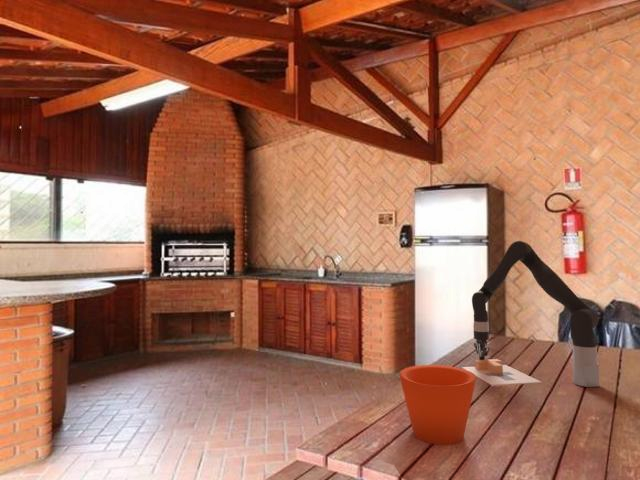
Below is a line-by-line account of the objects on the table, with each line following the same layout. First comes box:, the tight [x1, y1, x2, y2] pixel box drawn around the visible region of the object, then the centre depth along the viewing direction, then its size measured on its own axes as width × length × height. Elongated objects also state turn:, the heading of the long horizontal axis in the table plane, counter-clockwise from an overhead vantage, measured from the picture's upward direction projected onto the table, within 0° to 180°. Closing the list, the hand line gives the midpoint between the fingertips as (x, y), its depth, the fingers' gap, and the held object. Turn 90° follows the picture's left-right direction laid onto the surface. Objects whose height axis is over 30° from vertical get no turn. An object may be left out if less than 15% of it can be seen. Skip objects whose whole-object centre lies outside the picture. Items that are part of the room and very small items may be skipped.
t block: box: [474, 358, 504, 374], centre depth 223 cm, size 12×12×4 cm
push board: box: [461, 364, 542, 387], centre depth 217 cm, size 30×24×1 cm
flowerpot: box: [398, 364, 477, 446], centre depth 151 cm, size 25×25×20 cm
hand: (482, 363), depth 234 cm, fingers closed
